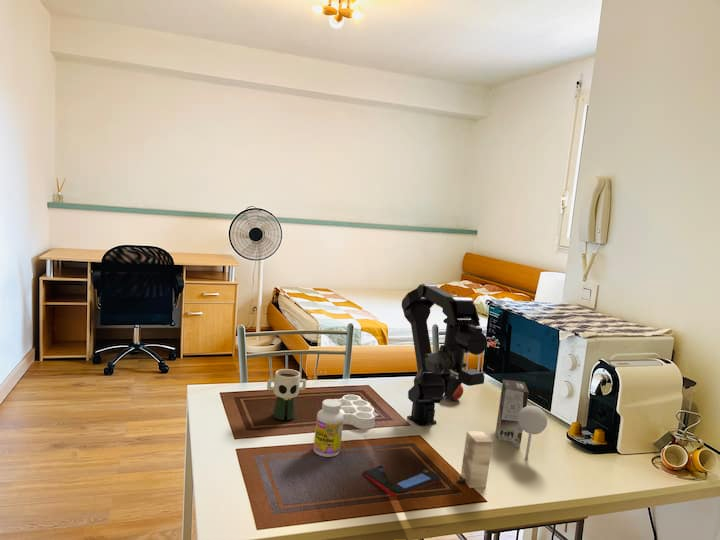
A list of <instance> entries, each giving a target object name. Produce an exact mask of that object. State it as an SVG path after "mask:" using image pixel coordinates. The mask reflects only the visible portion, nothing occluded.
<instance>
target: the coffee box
mask: <svg viewBox="0 0 720 540" xmlns="http://www.w3.org/2000/svg"><path fill="white" fill-rule="evenodd" d="M500 391H501V392H500V398H499V404H498V405H499V406H498V412H497V420H496V427H495V434H496V435H497V439H498V440H500V441H506V442H509V443H510V444H511V445H512V446H513V447H515V448H521V443H522V437H523V432H524V430H523V429H522V428H521V427H520V425H519V422H518V416H519V413H520V411H521V410H522V409H523V408H524V407H527V406H528V399H529V394H530V392H529V390H528V386H527V384H526V382H523V381H517V380H513V379H512V380H509V379H502V385H501V390H500Z"/></svg>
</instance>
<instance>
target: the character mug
mask: <svg viewBox="0 0 720 540" xmlns="http://www.w3.org/2000/svg"><path fill="white" fill-rule="evenodd" d="M272 383H273V386H272ZM300 383H302V386H300V385H301V384H300ZM266 386H267V387H266V389H267V390H268V391H273V394H274V395H275V397H276V399H275V403H274V408H273V412H272V415H273V416H274V418H275V419H277V420H281V421H282V420H283V421H284V420H285V418H287V420H292V419H294V418H295V417H296V399H295V398H296V397H297V396H298V395H299V393H300V392H299V391H305V390H306V388H307V379H306V378H301V372H299V371H297V370H295V369H290V368H282V369H278V370H276V371H275V374H274V378H269V379H268V380H267V383H266Z"/></svg>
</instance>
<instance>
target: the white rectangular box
mask: <svg viewBox="0 0 720 540" xmlns="http://www.w3.org/2000/svg"><path fill="white" fill-rule="evenodd" d="M493 442H494V441H493V440H492V439H490V437H489V436H487V434H486V433H485V432H484V431H466V436H465V442H464V450H463V457H462V464H461V471H460V477H461V478H456V480H457V481H456V482H457V483H459V482H460V483H461V482H462V483H465V485H467V486H468V488H469V489H472V488H474V489H475V488H477V489H478V488H481V489H482V488H487V482H488V476H489V469H490V461H491V456H492V449H493Z"/></svg>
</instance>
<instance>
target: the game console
mask: <svg viewBox="0 0 720 540" xmlns="http://www.w3.org/2000/svg"><path fill="white" fill-rule="evenodd" d="M422 472H423V473H419V474H417V475H414V476H411V477H409V478H407V479H404V480H402V481H400V482H398V483H397V484H395V485H394V481H389V479H388V477H387V475H386V472H385V471H384V468H383V465H380V466H376V467H373V468H369V469H366V470H363V471H362V474H363V475H364V476H365V477H366V478H367V479H368V480H370V481H371V482H372V483H374V484H375V485H376V486H378V488H380V489H382V490H383V491H384V492H386V493H387V494H388V495H389V496H390V497H391V498H394V499H398V497H397V495H396V494H397V493H398V494H406V493H409V492H411V491H415V490H417V489H420V488H423V487H426V486H429V485H431V484H435V483H437V482H439V481H441V477H440V475H439V474H437V473H436V472H434V471H432V470H428V469H423V470H422Z"/></svg>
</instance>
